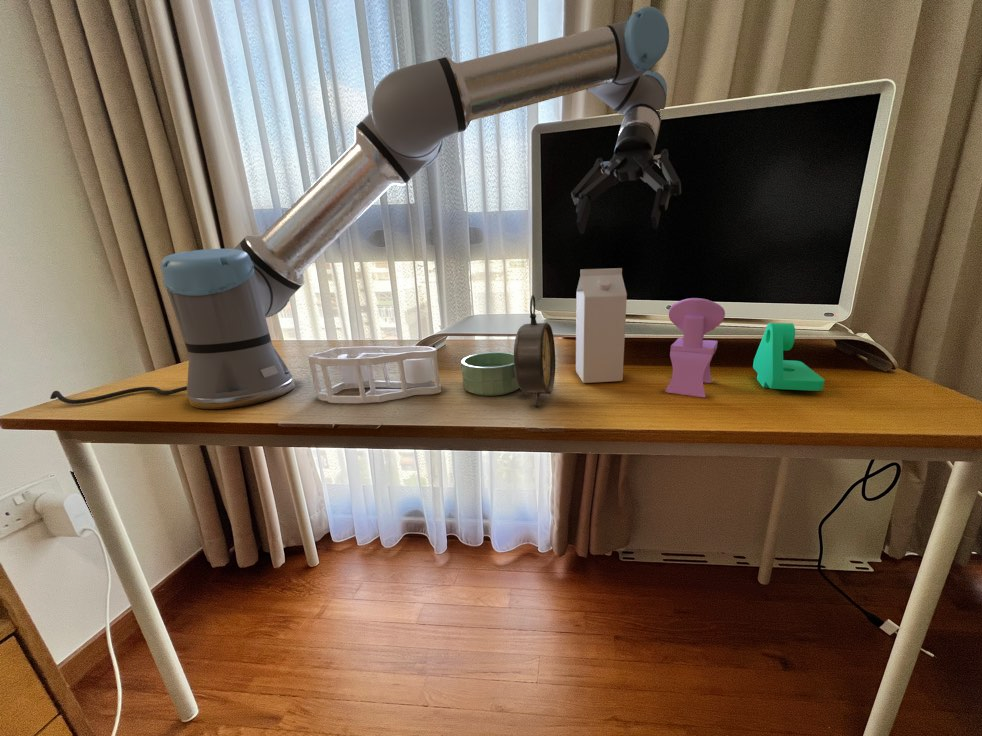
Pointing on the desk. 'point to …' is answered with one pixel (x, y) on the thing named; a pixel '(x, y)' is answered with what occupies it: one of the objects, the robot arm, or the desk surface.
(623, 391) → the desk surface
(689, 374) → the toy chair
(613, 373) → the milk carton
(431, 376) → the white wireframe cage
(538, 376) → the alarm clock
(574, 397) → the desk surface
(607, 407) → the desk surface
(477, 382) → the bowl
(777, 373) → the camera mount
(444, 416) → the desk surface
